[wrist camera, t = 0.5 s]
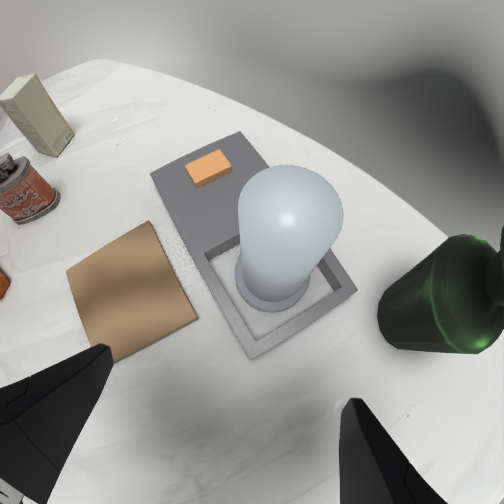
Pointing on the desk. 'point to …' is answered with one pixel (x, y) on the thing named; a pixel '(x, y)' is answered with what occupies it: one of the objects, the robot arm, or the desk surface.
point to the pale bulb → (284, 234)
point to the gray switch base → (230, 227)
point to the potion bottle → (448, 299)
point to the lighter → (24, 191)
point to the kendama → (3, 285)
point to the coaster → (129, 293)
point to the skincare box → (36, 115)
